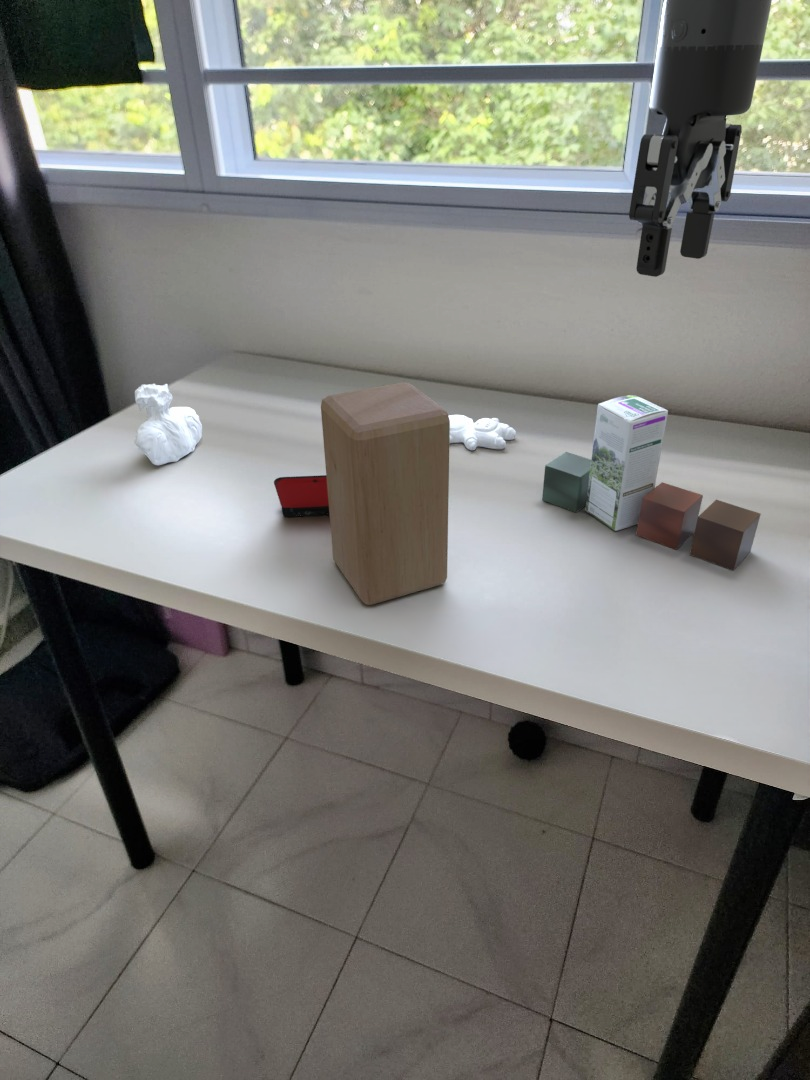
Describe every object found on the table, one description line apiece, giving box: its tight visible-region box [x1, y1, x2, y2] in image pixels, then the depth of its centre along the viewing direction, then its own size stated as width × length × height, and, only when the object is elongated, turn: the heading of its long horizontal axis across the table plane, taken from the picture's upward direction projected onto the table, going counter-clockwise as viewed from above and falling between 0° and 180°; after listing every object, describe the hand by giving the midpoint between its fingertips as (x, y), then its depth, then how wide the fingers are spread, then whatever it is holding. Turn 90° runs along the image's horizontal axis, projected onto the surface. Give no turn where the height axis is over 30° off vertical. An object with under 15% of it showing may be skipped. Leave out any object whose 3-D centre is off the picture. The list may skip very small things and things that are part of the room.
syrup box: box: [585, 394, 669, 532], centre depth 88 cm, size 6×6×14 cm
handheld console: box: [273, 474, 330, 518], centre depth 93 cm, size 12×11×7 cm
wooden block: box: [320, 381, 450, 606], centre depth 77 cm, size 10×10×20 cm
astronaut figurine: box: [448, 414, 517, 451], centre depth 111 cm, size 9×12×3 cm
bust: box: [134, 383, 203, 466], centre depth 107 cm, size 12×8×11 cm
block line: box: [541, 451, 762, 571], centre depth 89 cm, size 24×5×5 cm, turn 49°
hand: (672, 265), depth 65 cm, fingers open, 8 cm apart
